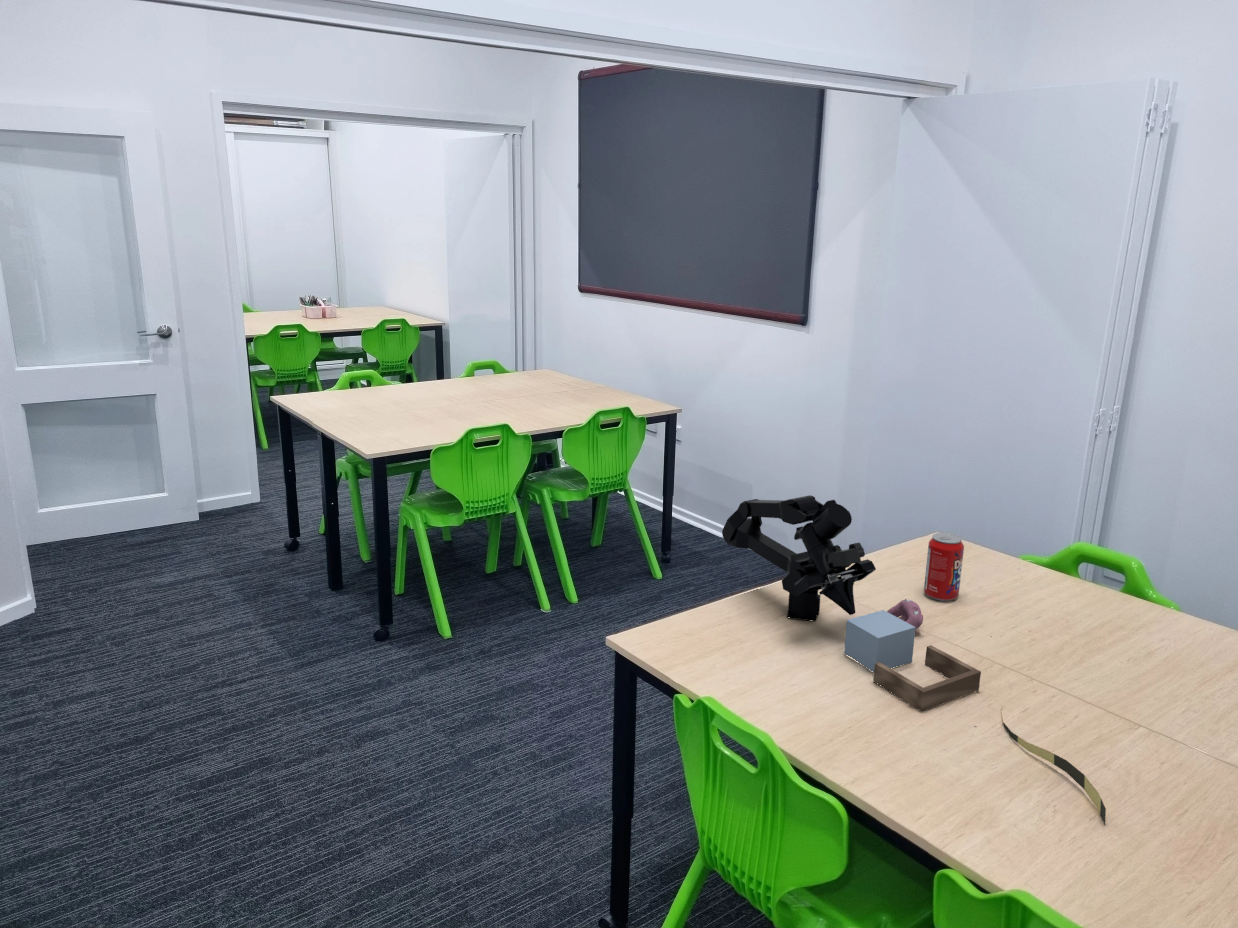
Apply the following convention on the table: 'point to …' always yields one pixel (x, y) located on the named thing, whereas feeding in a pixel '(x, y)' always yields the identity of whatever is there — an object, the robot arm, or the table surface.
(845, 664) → the table surface
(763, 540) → the robot arm
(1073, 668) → the table surface
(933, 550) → the soda can
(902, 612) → the video game controller
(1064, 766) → the tape
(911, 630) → the slate block
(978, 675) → the walnut bay
